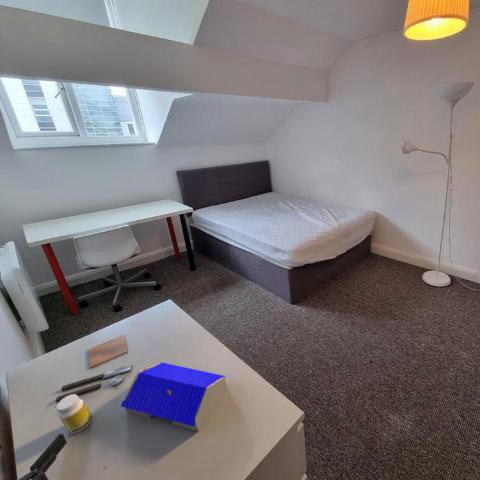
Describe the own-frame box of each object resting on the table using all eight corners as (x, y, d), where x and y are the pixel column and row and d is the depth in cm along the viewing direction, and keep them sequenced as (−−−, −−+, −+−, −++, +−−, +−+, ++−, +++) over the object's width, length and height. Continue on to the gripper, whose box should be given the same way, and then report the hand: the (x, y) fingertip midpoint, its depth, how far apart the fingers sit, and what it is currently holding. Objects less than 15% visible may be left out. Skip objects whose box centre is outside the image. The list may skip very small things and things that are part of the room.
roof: (124, 414, 70) (114, 395, 67) (164, 369, 82) (157, 351, 79) (196, 434, 64) (189, 415, 61) (228, 383, 77) (223, 365, 74)
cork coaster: (89, 349, 90) (89, 348, 90) (124, 335, 96) (124, 334, 96) (89, 368, 83) (89, 367, 83) (127, 352, 89) (127, 351, 89)
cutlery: (54, 405, 73) (53, 403, 72) (64, 386, 78) (63, 384, 78) (128, 382, 78) (127, 380, 78) (132, 365, 84) (131, 363, 83)
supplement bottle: (97, 415, 70) (84, 393, 66) (81, 434, 65) (66, 412, 62) (80, 413, 70) (67, 392, 67) (63, 433, 66) (48, 410, 62)
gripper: (-195, 620, 38) (-22, 458, 58) (-14, 602, 39) (95, 448, 59) (-232, 593, 36) (-38, 433, 56) (-38, 574, 36) (84, 423, 57)
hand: (31, 440), depth 57 cm, fingers open, 13 cm apart
